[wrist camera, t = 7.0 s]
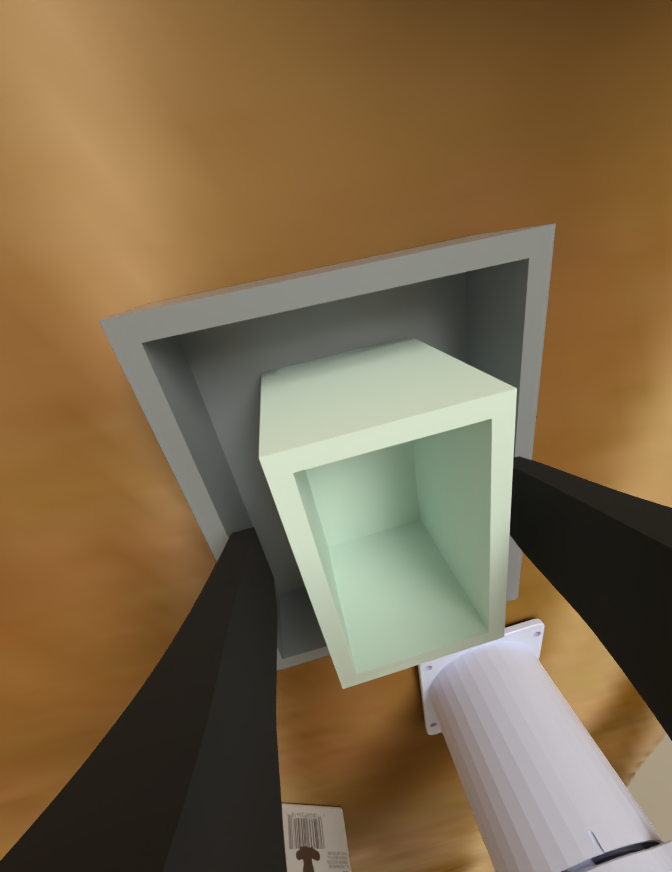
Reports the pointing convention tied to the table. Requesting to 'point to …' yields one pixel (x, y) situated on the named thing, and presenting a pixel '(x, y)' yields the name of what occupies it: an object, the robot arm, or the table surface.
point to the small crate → (393, 499)
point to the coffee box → (315, 838)
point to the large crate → (313, 339)
